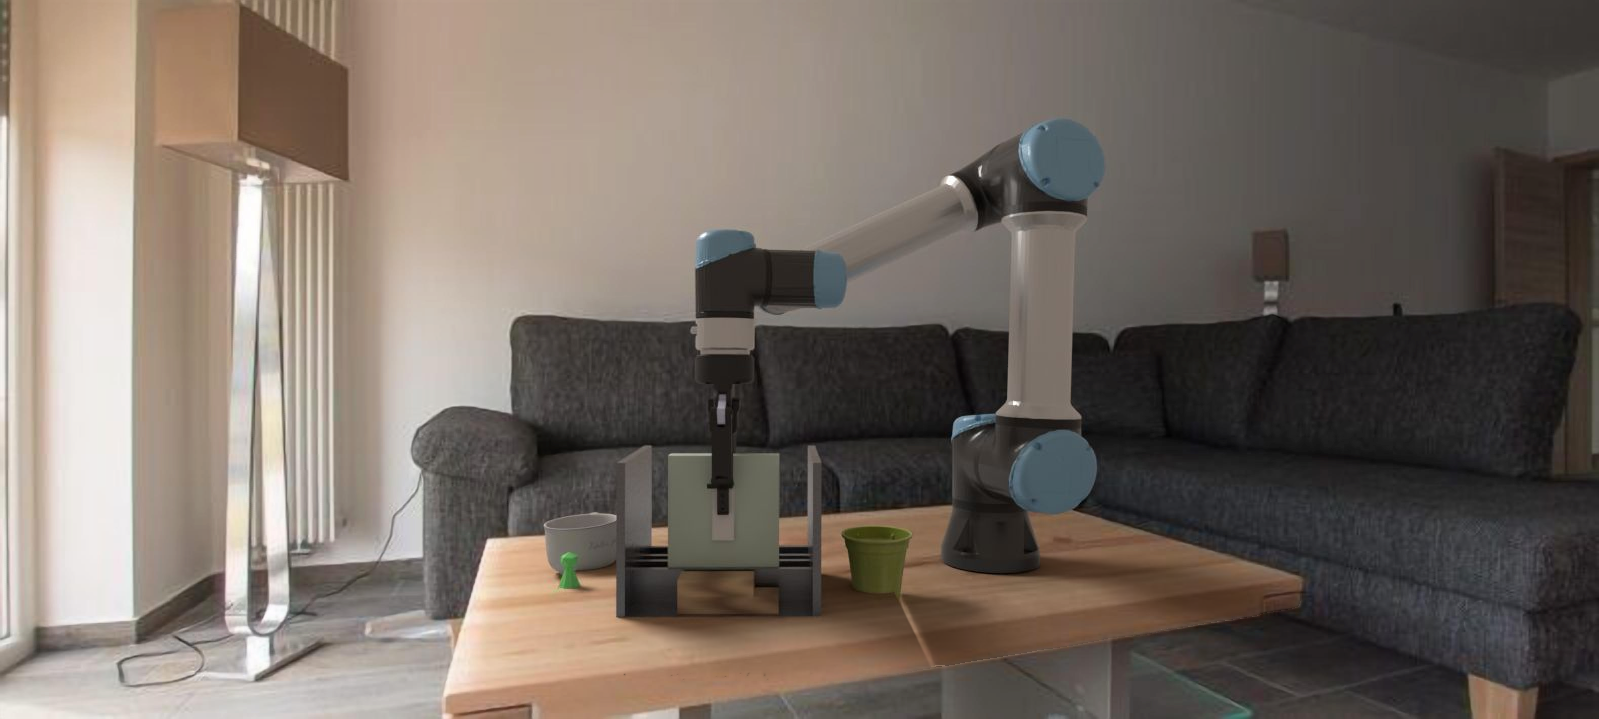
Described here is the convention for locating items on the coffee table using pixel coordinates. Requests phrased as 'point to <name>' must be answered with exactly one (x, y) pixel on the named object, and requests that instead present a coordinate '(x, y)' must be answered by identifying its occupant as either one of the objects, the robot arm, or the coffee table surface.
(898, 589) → the plant pot
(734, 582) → the offcut upper
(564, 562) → the game piece
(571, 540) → the teacup
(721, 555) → the sage panel
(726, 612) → the offcut lower
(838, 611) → the coffee table surface
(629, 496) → the rack
